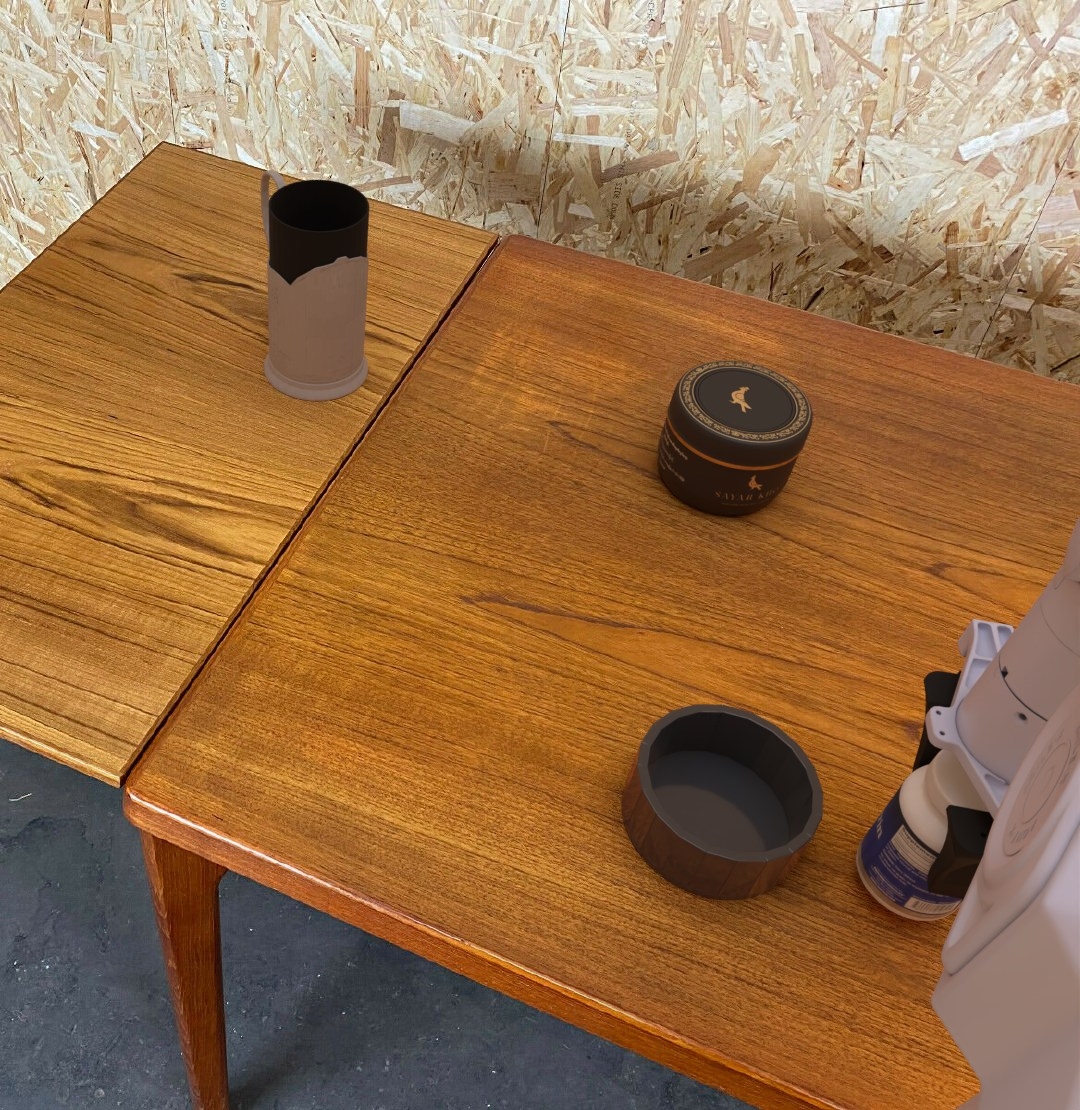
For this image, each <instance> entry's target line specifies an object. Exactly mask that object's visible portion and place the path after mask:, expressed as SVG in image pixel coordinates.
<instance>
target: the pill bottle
mask: <svg viewBox="0 0 1080 1110" xmlns="http://www.w3.org/2000/svg"><path fill="white" fill-rule="evenodd" d="M949 805H955V806H960V807H965V808H971V809H976V810H981V811H986V812H989V811H988V809H987V807H986V806H985V804H984V802H983V801H982V799H981V797H980V796H979V794H978V792H977V790H976V789H975V787H974V785H973V784H972V782H971V780H970V779H969V777H968V775H967V774H966V772H965V770H964V769H963V767H962V765H961V764H960V762H959V760H958V759H957V757H956V755H955V754H954V753H953V752H951V751H949V750H945V749H942V750H941V751H940V752H939V753H938V754H937V755H936V757H935V758H934V759H933V760H932V762H931V763H930V764H929V765H925V766H923V767H921V768H919V769H917V770H915V771H914V772H912V771H911V773H910V774H909V775H908V776H907V777H906V778H905V780H903V782H902V784H901V785H900V786H899V788H898V789H897V790H896V792H895V793H894V795H893V796H892V797H891V798H890V800H889V802H888V803H887V804H886V805H885V807H884V809H883V810H882V811H881V813H880V814H879V815H878V816H877V818H876V819H875V821H874V822H873V824H872V825H871V827H870V828H869V829H868V830H867V832H866V833H865V835H864V836H863V837H862V838H861V840H860V841H859V844H858V847H857V850H856V855H855V856H856V857H855V862H856V863H855V865H856V868H857V872H858V875H859V878H860V880H861V882H862V884H863V885H864V887H865V888H866V889H867V891H868V892H869V893H870V895H871V896H872V897H873V898H874V899H875V900H876V901H877V902H878V903H879V904H880V905H882V907H884V908H885V909H887V910H889V911H891V912H892V913H894V914H896V915H898V916H900V917H903V918H906V919H909V920H914V921H920V922H933V921H937V920H942V919H944V918H946V917H948V916H950V915H952V914H954V912H955V911H956V910H957V909H958V908H960V907H961V904H962V902H963V900H964V899H959V898H954V897H949V896H944V895H939V894H934V893H931V892H930V891H929V890H928V884H927V877H928V872H929V869H930V868H931V866H932V864H933V862H934V861H935V859H936V858H937V856H938V855H939V853H940V851H941V849H942V847H943V845H944V842H945V839H946V835H947V828H948V819H947V813H946V808H947V807H948V806H949Z"/></svg>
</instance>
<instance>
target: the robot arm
mask: <svg viewBox="0 0 1080 1110" xmlns="http://www.w3.org/2000/svg"><path fill="white" fill-rule="evenodd" d="M956 644H957V647H958V651H959V652H958V653H959V654H960V656H961V657H963V658H964V662H963V664H962V668H961V670H958V672H957V673H954V672H947V671H943V670H934V671H930V672H928V673H927V674H926V675H925V676H924V678H923V686H924V695H925V696H924V697H925V710H924V719H923V720H924V721H923V726H922V732H921V737H920V740H919V744H918V748H917V751H916V754H915V758H914V761H913V765H912V769H911V773H912V772H914V771H915V770H917V769H919V768H921V767H923V766H925V765H929V764H930V763H931V762H932V760H933V759H934V758H935V757H936V755H937V754H938V753H939V752H940V751H941V750H942V749H945V750H949V751H951V752H953V753H954V754H955V755H956V757H957V759H958V760H959V762H960V764H961V765H962V767H963V769H964V770H965V772H966V774H967V775H968V777H969V779H970V780H971V782H972V784H973V785H974V787H975V789H976V790H977V792H978V794H979V796H980V797H981V799H982V801H983V802H984V804H985V806H986V807H987V809H988V811H989V812H986V811H981V810H976V809H971V808H965V807H960V806H955V805H949V806H948V807H947V808H946V813H947V819H948V828H947V835H946V839H945V842H944V845H943V847H942V849H941V851H940V853H939V855H938V856H937V858H936V859H935V861H934V862H933V864H932V866H931V868H930V869H929V872H928V877H927V884H928V890H929V891H930V892H931V893H934V894H939V895H944V896H949V897H954V898H959V899H964V900H963V902H962V904H961V905H960V906H959V909H958V911H957V913H956V915H955V918H954V920H953V922H952V924H951V927H950V929H949V932H948V934H947V936H946V938H945V941H944V943H943V947H942V950H941V955H940V959H941V963H942V966H943V969H942V972H941V974H940V977H939V978H938V981H937V983H936V985H935V987H934V990H933V992H932V995H931V997H930V1005H931V1008H932V1009H933V1011H934V1012H935V1014H936V1015H937V1017H938V1018H939V1020H940V1022H941V1023H942V1024H943V1026H944V1028H945V1029H946V1031H947V1032H948V1034H949V1036H950V1037H951V1038H952V1040H953V1042H954V1043H955V1045H956V1046H957V1048H958V1049H959V1051H960V1052H961V1054H962V1056H963V1057H964V1059H965V1060H966V1061H967V1064H968V1065H969V1066H970V1068H971V1070H972V1071H973V1072H974V1074H975V1075H976V1077H977V1079H978V1081H979V1084H980V1085H979V1086H980V1087H979V1092H977V1093H976V1094H975V1095H973V1096H972V1097H970V1098H968V1100H966V1101H965V1102H964V1103H962V1104H960V1105H959V1106H958V1107H956V1108H955V1109H954V1110H1080V515H1079V517H1078V519H1077V520H1076V523H1075V524H1074V527H1073V529H1072V532H1071V535H1070V537H1069V540H1068V544H1067V547H1066V550H1065V554H1064V557H1063V562H1062V565H1061V566H1060V567H1059V568H1058V569H1057V571H1056V572H1055V574H1054V575H1053V577H1052V578H1051V579H1050V581H1049V582H1048V583H1047V585H1046V586H1045V588H1044V589H1043V590H1042V592H1041V594H1040V595H1039V596H1038V597H1037V599H1036V600H1035V602H1034V603H1033V604H1032V605H1031V607H1030V608H1029V610H1028V611H1027V613H1026V614H1025V615H1024V617H1022V619H1021V620H1020V622H1019V623H1018V624H1017V626H1016V627H1015V629H1014V626H1013V625H1011V624H1005V623H1000V622H994V621H987V620H982V619H976V618H972V619H971V621H970V622H969V624H968V625H967V627H966V628H965V630H964V631H963V633H962V634H961V636H960V637H959V639H958V640H957V643H956Z"/></svg>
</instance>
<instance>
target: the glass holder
mask: <svg viewBox="0 0 1080 1110" xmlns="http://www.w3.org/2000/svg"><path fill="white" fill-rule="evenodd" d="M271 178H272V180H273V182H274V183H275V186H276V189H277V190H276V191H274V192H273V193H272V195H271V196H270V179H271ZM259 193H260V209H261V217H262V224H263V229H264V234H265V239H266V245H267V249H268V253H269V254H268V255H269V256H268V258H267V261H266V267H267V270H266V271H267V320H268V321H267V322H268V326H267V327H268V329H267V330H268V352H267V354H266V356H265V358H264V363H263V374H264V376H265V378H266V380H267V381H268V382H269V384H270V385H271V386H272V388H274V389H276V390H277V391H278V392H280V393H282V394H284V395H286V396H288V397H291V398H294V399H299V400H302V401H312V402H325V401H331V400H336V399H340V398H343V397H345V396H349V395H350V394H352V393H353V392H355V391H356V390H358V389H359V388H360V387H361V386H362V385H363V384H364V383H365V382H366V379H367V377H368V374H369V364H368V360H367V358H366V356H365V337H366V322H367V321H366V319H367V318H366V317H367V304H368V303H367V302H368V284H369V282H368V281H369V268H370V267H369V264H370V263H369V261H370V260H369V254H368V243H369V238H368V237H369V225H370V224H369V223H370V202H369V200H368V197H366V195H365V194H364V193H362V191H360V190H359V189H357V188H355V187H353V186H351V185H349V184H346V183H344V182H340V181H334V180H330V179H304V180H297V181H294V182H290V183H288V184H286V182H285V180H284V178H283V177H282V175H281V174H280V173H279V172H278V170H274V169H269V170H266V171H264V172H262V174H261V177H260V191H259Z"/></svg>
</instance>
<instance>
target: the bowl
mask: <svg viewBox="0 0 1080 1110" xmlns="http://www.w3.org/2000/svg"><path fill="white" fill-rule="evenodd" d="M823 814H824V789H823V788H822V784H821V781H820V778H819V774H818V772H817V769H816V767H815V765H814V764H813V762H812V761H811V759H810V758H809V757H808V755H807V754H806V753H805V751H804V750H803V748H802V747H801V745H799V743H798V742H796V741H795V740H794V739H793V738H792V737H790V736H789V734H787V733H786V732H785V731H784V730H782V729H781V728H780V727H779V726H777V725H776V724H774V723H773V722H771V721H769V720H767V719H765V718H764V717H761V716H760V715H758V714H756V713H754V712H751V711H749V710H745V709H741V708H737V707H735V706H730V705H726V704H715V703H714V704H713V703H712V704H710V703H708V704H707V703H697V704H695V703H694V704H691V705H688V706H684V707H679V708H676V709H673V710H670V711H669V712H668V713H666V714H664V715H663V716H662V717H661V718H659V719H657V720H655V722H654V723H653V724H651V726H650V727H649V729H648V731H647V732H646V733H645V735H644V737H643V738H642V740H641V741H640V744H639V746H638V748H637V752H636V754H635V756H634V758H633V761H632V763H631V766H630V768H629V771H628V774H627V776H626V779H625V781H624V787H623V790H622V795H621V815H622V821H623V825H624V827H625V830H626V831H625V832H626V833H627V835H628V837H629V839H630V841H631V844H632V845H633V847H634V848H635V850H636V851H637V853H638V854H639V855H640V857H641V858H642V859H643V860H644V862H645V863H646V864H647V865H648V866H649V867H650V868H651V869H652V870H653V871H654V872H656V873H657V874H658V875H659V876H661V877H662V878H663V879H665V880H666V881H668V882H669V883H671V884H672V885H674V886H676V887H678V888H680V889H681V890H684V891H686V892H688V893H691V894H694V895H696V896H700V897H704V898H707V899H712V900H719V901H738V900H746V899H750V898H754V897H757V896H761V895H762V894H764V893H767V892H768V891H771V890H772V889H774V888H775V887H776V886H778V885H779V884H780V883H781V882H782V881H783V880H784V878H786V877H787V876H788V875H789V874H790V873H791V871H792V870H793V868H794V866H795V865H796V864H797V862H798V861H799V859H800V858H801V856H802V854H803V853H804V851H805V850H806V849H807V847H808V846H809V844H810V842H811V841H812V839H813V838H814V836H815V834H816V832H817V830H818V827H819V826H820V824H821V821H822V820H823Z"/></svg>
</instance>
